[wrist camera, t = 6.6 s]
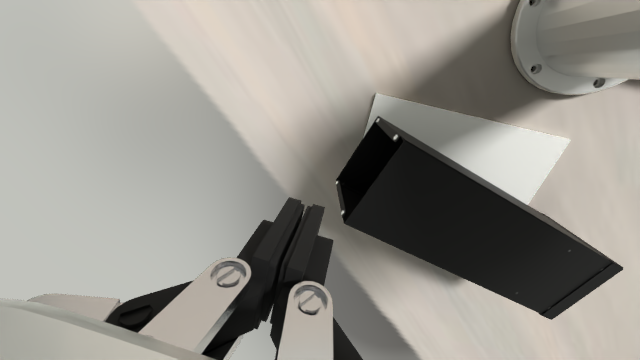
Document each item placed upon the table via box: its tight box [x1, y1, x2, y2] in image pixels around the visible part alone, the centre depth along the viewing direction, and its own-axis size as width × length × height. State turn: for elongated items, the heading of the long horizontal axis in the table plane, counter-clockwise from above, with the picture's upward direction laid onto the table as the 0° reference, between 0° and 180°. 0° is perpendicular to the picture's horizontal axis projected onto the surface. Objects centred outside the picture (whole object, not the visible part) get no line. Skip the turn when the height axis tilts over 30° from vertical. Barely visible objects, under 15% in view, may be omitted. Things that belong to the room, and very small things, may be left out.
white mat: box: [363, 93, 571, 205], centre depth 29 cm, size 20×14×1 cm
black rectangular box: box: [336, 116, 623, 319], centre depth 25 cm, size 8×8×28 cm
